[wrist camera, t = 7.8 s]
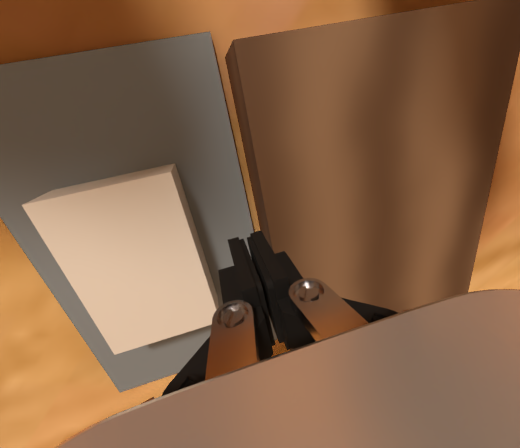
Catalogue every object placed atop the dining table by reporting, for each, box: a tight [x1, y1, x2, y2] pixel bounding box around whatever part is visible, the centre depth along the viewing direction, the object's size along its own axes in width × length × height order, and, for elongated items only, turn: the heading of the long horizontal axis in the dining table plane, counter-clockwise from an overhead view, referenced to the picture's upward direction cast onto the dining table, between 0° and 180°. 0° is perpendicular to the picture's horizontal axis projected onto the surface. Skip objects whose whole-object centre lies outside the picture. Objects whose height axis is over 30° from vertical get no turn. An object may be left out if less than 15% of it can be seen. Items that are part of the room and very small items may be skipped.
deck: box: [225, 0, 520, 350], centre depth 16 cm, size 14×18×3 cm
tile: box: [22, 163, 219, 355], centre depth 14 cm, size 6×9×2 cm, turn 10°
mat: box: [0, 32, 277, 392], centre depth 15 cm, size 12×20×1 cm, turn 11°
